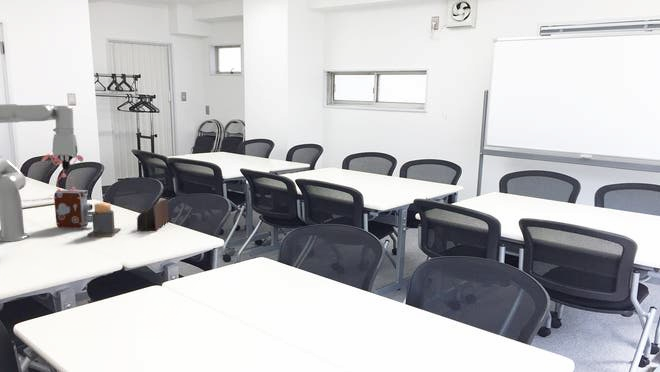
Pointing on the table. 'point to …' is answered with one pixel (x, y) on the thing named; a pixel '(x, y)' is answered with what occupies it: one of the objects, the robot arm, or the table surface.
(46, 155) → the pink flower
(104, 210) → the cap
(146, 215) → the letter holder
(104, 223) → the top hat
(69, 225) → the cine camera
